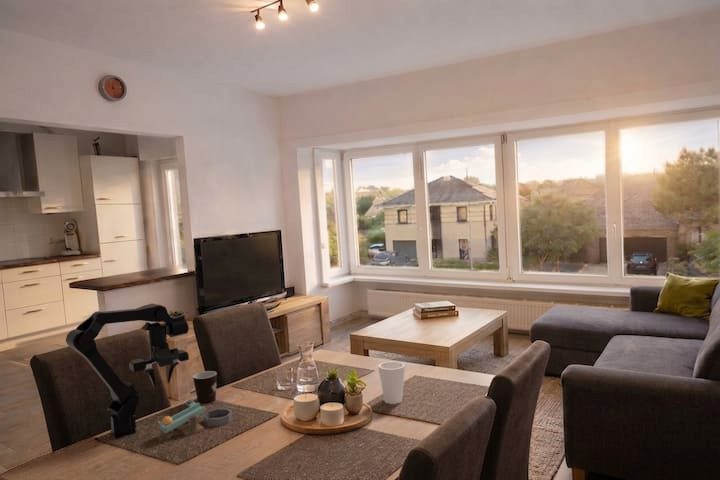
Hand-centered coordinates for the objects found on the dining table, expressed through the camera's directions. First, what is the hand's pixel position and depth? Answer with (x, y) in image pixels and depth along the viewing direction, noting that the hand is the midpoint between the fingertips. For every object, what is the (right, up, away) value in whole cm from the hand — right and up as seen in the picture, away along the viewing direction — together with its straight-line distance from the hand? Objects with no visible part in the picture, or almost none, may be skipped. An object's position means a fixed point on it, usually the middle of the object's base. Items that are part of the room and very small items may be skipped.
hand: (161, 384), depth 184 cm
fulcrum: (+10, -12, -12) cm, 20 cm away
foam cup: (+81, -8, +7) cm, 81 cm away
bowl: (+21, -11, -3) cm, 24 cm away
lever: (+9, -8, -8) cm, 15 cm away
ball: (+7, -8, -14) cm, 18 cm away
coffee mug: (+12, -10, +17) cm, 23 cm away
